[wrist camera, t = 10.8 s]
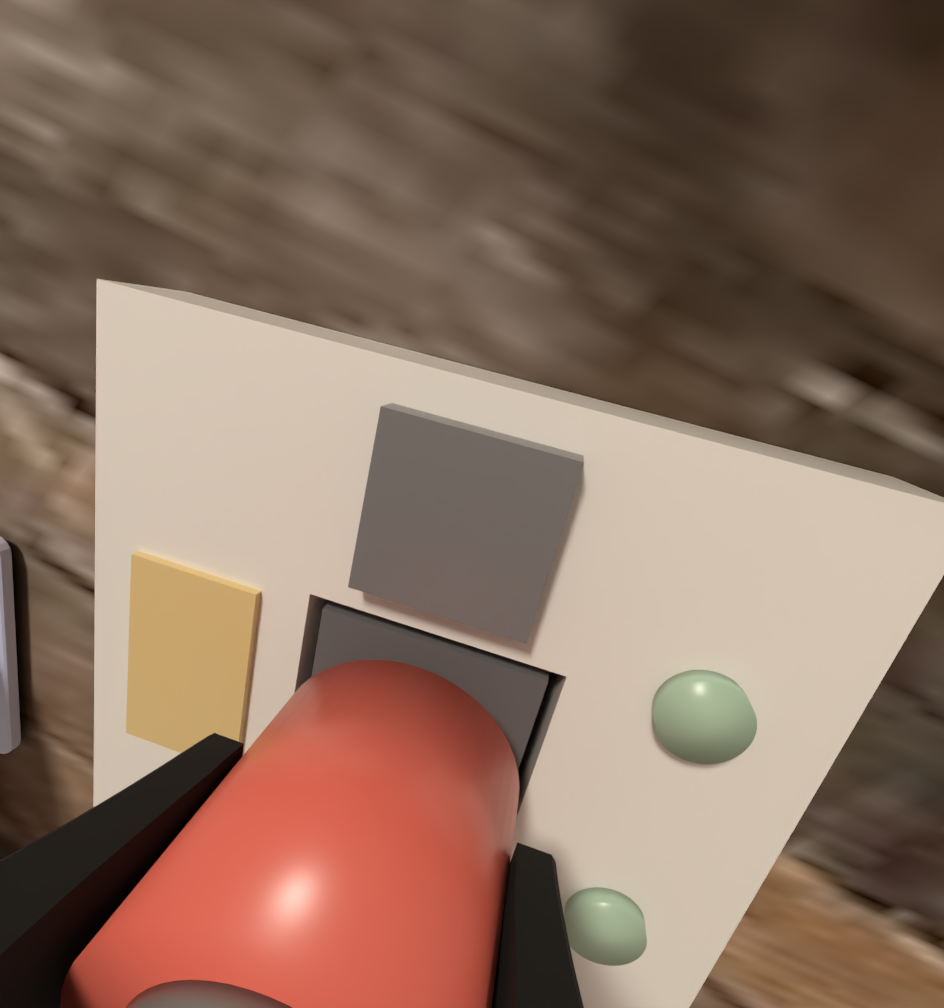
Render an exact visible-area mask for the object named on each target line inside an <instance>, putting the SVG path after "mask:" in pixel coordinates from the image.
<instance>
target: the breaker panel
mask: <svg viewBox="0 0 944 1008" xmlns="http://www.w3.org/2000/svg"><path fill="white" fill-rule="evenodd" d="M943 575H944V497H941V496H939V495H936V494H934V493H931V492H929V491H926V490H924V489H921V488H919V487H916V486H914V485H912V484H909V483H907V482H904V481H902V480H899V479H897V478H894V477H892V476H888V475H884V474H880V473H877V472H873V471H869V470H865V469H861V468H858V467H854V466H850V465H846V464H842V463H838V462H835V461H831V460H827V459H823V458H819V457H816V456H812V455H808V454H804V453H800V452H796V451H793V450H789V449H785V448H781V447H777V446H774V445H770V444H766V443H762V442H758V441H754V440H751V439H747V438H743V437H739V436H735V435H732V434H728V433H724V432H720V431H716V430H712V429H709V428H705V427H701V426H697V425H693V424H690V423H686V422H682V421H678V420H674V419H670V418H667V417H663V416H659V415H655V414H651V413H648V412H644V411H640V410H636V409H632V408H628V407H625V406H621V405H617V404H613V403H609V402H606V401H602V400H598V399H594V398H590V397H586V396H583V395H579V394H575V393H571V392H567V391H564V390H560V389H556V388H552V387H548V386H544V385H541V384H537V383H533V382H529V381H525V380H522V379H518V378H514V377H510V376H506V375H503V374H499V373H495V372H491V371H487V370H483V369H480V368H476V367H472V366H468V365H464V364H461V363H457V362H453V361H449V360H445V359H441V358H438V357H434V356H430V355H426V354H422V353H419V352H415V351H411V350H407V349H403V348H399V347H396V346H392V345H388V344H384V343H380V342H377V341H373V340H369V339H365V338H361V337H357V336H354V335H350V334H346V333H342V332H338V331H335V330H331V329H327V328H323V327H319V326H315V325H312V324H308V323H304V322H300V321H296V320H293V319H289V318H285V317H281V316H277V315H273V314H270V313H266V312H262V311H258V310H254V309H251V308H247V307H243V306H239V305H235V304H231V303H228V302H224V301H220V300H216V299H212V298H209V297H205V296H201V295H197V294H193V293H189V292H184V291H177V290H170V289H163V288H157V287H150V286H143V285H136V284H129V283H122V282H115V281H108V280H101V279H97V319H96V486H95V652H94V807H95V806H97V805H98V804H100V803H102V802H103V801H105V800H107V799H108V798H110V797H112V796H113V795H115V794H117V793H118V792H120V791H122V790H123V789H125V788H127V787H128V786H130V785H131V784H133V783H135V782H136V781H138V780H139V779H141V778H143V777H144V776H146V775H147V774H149V773H151V772H152V771H154V770H155V769H157V768H159V767H160V766H162V765H163V764H165V763H166V762H168V761H170V760H171V759H173V758H174V757H176V756H177V755H179V754H180V753H182V752H184V751H185V750H187V749H188V748H190V747H191V746H193V745H195V744H196V743H198V742H199V741H201V740H202V739H204V738H206V737H207V736H209V735H211V734H213V733H216V734H219V735H222V736H225V737H227V738H230V739H233V740H236V741H238V742H241V743H244V747H243V755H244V754H245V753H246V751H247V750H248V749H249V748H250V747H251V745H252V744H253V743H254V742H255V740H256V739H257V738H258V737H259V736H260V734H261V733H262V732H263V731H264V730H265V728H266V727H267V726H268V725H269V723H270V722H271V721H272V720H273V719H274V717H275V716H276V715H277V714H278V712H279V711H280V710H281V709H282V708H283V706H284V705H285V704H286V703H287V702H288V700H289V699H290V698H291V697H292V695H293V694H294V693H295V692H296V691H297V690H298V689H299V687H300V686H301V685H302V684H304V683H305V682H306V681H307V680H309V679H310V678H311V676H312V670H313V664H314V658H315V652H316V646H317V640H318V634H319V628H320V622H321V616H322V610H323V608H324V607H325V606H326V605H327V604H328V603H329V601H333V602H336V603H340V604H343V605H346V606H349V607H352V608H355V609H358V610H361V611H364V612H367V613H371V614H374V615H377V616H380V617H383V618H386V619H389V620H392V621H395V622H398V623H402V624H405V625H408V626H411V627H414V628H417V629H420V630H423V631H426V632H429V633H433V634H436V635H439V636H442V637H445V638H448V639H451V640H454V641H457V642H460V643H464V644H467V645H470V646H473V647H476V648H479V649H482V650H485V651H488V652H491V653H495V654H498V655H501V656H504V657H507V658H510V659H513V660H516V661H519V662H522V663H526V664H529V665H532V666H535V667H538V668H541V669H544V670H547V671H550V673H549V679H548V684H547V687H546V690H545V693H544V696H543V698H542V701H541V704H540V707H539V710H538V713H537V716H536V719H535V722H534V725H533V728H532V731H531V734H530V736H529V739H528V742H527V745H526V748H525V751H524V754H523V757H522V760H521V763H520V766H519V769H518V774H519V786H520V787H519V800H518V808H517V816H516V824H515V831H514V839H513V847H512V854H511V859H512V856H513V853H514V850H515V848H516V845H517V842H518V843H521V844H523V845H526V846H529V847H532V848H534V849H537V850H540V851H543V852H546V853H548V854H551V855H552V856H553V858H554V860H555V862H556V869H557V877H558V884H559V890H560V897H561V903H562V908H563V914H564V919H565V925H566V930H567V935H568V940H569V945H570V950H571V954H572V959H573V964H574V968H575V973H576V977H577V981H578V985H579V989H580V994H581V998H582V1002H583V1006H584V1008H689V1007H690V1005H691V1004H692V1002H693V1000H694V999H695V997H696V995H697V994H698V992H699V990H700V988H701V987H702V985H703V983H704V982H705V980H706V978H707V976H708V975H709V973H710V971H711V970H712V968H713V966H714V965H715V963H716V961H717V959H718V958H719V956H720V954H721V953H722V951H723V949H724V948H725V946H726V944H727V942H728V941H729V939H730V937H731V936H732V934H733V932H734V931H735V929H736V927H737V925H738V924H739V922H740V920H741V919H742V917H743V915H744V914H745V912H746V910H747V908H748V907H749V905H750V903H751V902H752V900H753V898H754V897H755V895H756V893H757V891H758V890H759V888H760V886H761V885H762V883H763V881H764V880H765V878H766V876H767V874H768V873H769V871H770V869H771V868H772V866H773V864H774V863H775V861H776V859H777V857H778V856H779V854H780V852H781V851H782V849H783V847H784V846H785V844H786V842H787V840H788V839H789V837H790V835H791V834H792V832H793V830H794V829H795V827H796V825H797V823H798V822H799V820H800V818H801V817H802V815H803V813H804V812H805V810H806V808H807V806H808V805H809V803H810V801H811V800H812V798H813V796H814V795H815V793H816V791H817V789H818V788H819V786H820V784H821V783H822V781H823V779H824V778H825V776H826V774H827V772H828V771H829V769H830V767H831V766H832V764H833V762H834V761H835V759H836V757H837V755H838V754H839V752H840V750H841V749H842V747H843V745H844V743H845V742H846V740H847V738H848V737H849V735H850V733H851V732H852V730H853V728H854V726H855V725H856V723H857V721H858V720H859V718H860V716H861V715H862V713H863V711H864V709H865V708H866V706H867V704H868V703H869V701H870V699H871V698H872V696H873V694H874V692H875V691H876V689H877V687H878V686H879V684H880V682H881V681H882V679H883V677H884V675H885V674H886V672H887V670H888V669H889V667H890V665H891V664H892V662H893V660H894V658H895V657H896V655H897V653H898V652H899V650H900V648H901V647H902V645H903V643H904V641H905V640H906V638H907V636H908V635H909V633H910V631H911V630H912V628H913V626H914V624H915V623H916V621H917V619H918V618H919V616H920V614H921V613H922V611H923V609H924V607H925V606H926V604H927V602H928V601H929V599H930V597H931V596H932V594H933V592H934V590H935V589H936V587H937V585H938V584H939V582H940V580H941V579H942V577H943ZM243 755H242V756H243Z"/></svg>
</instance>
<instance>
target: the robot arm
mask: <svg viewBox="0 0 944 1008" xmlns="http://www.w3.org/2000/svg"><path fill="white" fill-rule="evenodd" d="M20 741H21V729H20V709H19V689H18V670H17V650H16V630H15V610H14V590H13V570H12V553H11V548H10V546H9V544H8V543H7V542H6V541H5V540H4V539H3V538H2V537H0V753H1V754H6V753H9V752H11V751H12V750H13V749H15V748H16V747H18V746H19V745H20ZM243 747H244V743H241V742H238V741H236V740H233V739H230V738H227V737H225V736H222V735H219V734H216V733H213V734H211V735H209V736H207V737H206V738H204V739H202V740H201V741H199V742H198V743H196V744H195V745H193V746H191V747H190V748H188V749H187V750H185V751H184V752H182V753H180V754H179V755H177V756H176V757H174V758H173V759H171V760H170V761H168V762H166V763H165V764H163V765H162V766H160V767H159V768H157V769H155V770H154V771H152V772H151V773H149V774H147V775H146V776H144V777H143V778H141V779H139V780H138V781H136V782H135V783H133V784H131V785H130V786H128V787H127V788H125V789H123V790H122V791H120V792H118V793H117V794H115V795H113V796H112V797H110V798H108V799H107V800H105V801H103V802H102V803H100V804H98V805H97V806H95V807H93V808H92V809H90V810H88V811H87V812H85V813H83V814H82V815H80V816H78V817H77V818H75V819H73V820H71V821H70V822H68V823H66V824H64V825H63V826H61V827H59V828H57V829H56V830H54V831H52V832H50V833H48V834H47V835H45V836H43V837H41V838H39V839H38V840H36V841H34V842H32V843H30V844H29V845H27V846H25V847H23V848H21V849H20V850H18V851H16V852H14V853H12V854H11V855H9V856H7V857H5V858H3V859H1V860H0V1008H60V1003H61V991H62V987H63V984H64V980H65V977H66V975H67V973H68V971H69V969H70V967H71V966H72V964H73V962H74V961H75V960H76V958H77V957H78V956H79V955H80V954H81V952H82V951H83V950H84V949H85V947H86V946H87V945H88V944H89V943H90V941H91V940H92V939H93V938H94V936H95V935H96V934H97V933H98V932H99V930H100V929H101V928H102V927H103V926H104V924H105V923H106V922H107V921H108V919H109V918H110V917H111V916H112V915H113V913H114V912H115V911H116V910H117V908H118V907H119V906H120V905H121V904H122V902H123V901H124V900H125V899H126V898H127V896H128V895H129V894H130V893H131V891H132V890H133V889H134V888H135V887H136V885H137V884H138V883H139V882H140V880H141V879H142V878H143V877H144V876H145V874H146V873H147V872H148V871H149V870H150V868H151V867H152V866H153V865H154V863H155V862H156V861H157V860H158V859H159V857H160V856H161V855H162V854H163V852H164V851H165V850H166V849H167V848H168V846H169V845H170V844H171V843H172V842H173V840H174V839H175V838H176V837H177V835H178V834H179V833H180V832H181V831H182V829H183V828H184V827H185V826H186V824H187V823H188V822H189V821H190V820H191V818H192V817H193V816H194V815H195V814H196V812H197V811H198V810H199V809H200V807H201V806H202V805H203V804H204V803H205V801H206V800H207V799H208V798H209V796H210V795H211V794H212V793H213V792H214V790H215V789H216V788H217V787H218V786H219V784H220V783H221V782H222V781H223V779H224V778H225V777H226V776H227V775H228V773H229V772H230V771H231V770H232V768H233V767H234V766H235V765H236V764H237V762H238V761H239V760H240V759H241V758H242V755H243ZM492 1008H584V1006H583V1002H582V998H581V994H580V989H579V985H578V981H577V977H576V973H575V968H574V964H573V959H572V954H571V950H570V945H569V940H568V935H567V930H566V925H565V919H564V914H563V908H562V903H561V897H560V890H559V884H558V877H557V869H556V862H555V860H554V858H553V856H552V855H551V854H548V853H546V852H543V851H540V850H537V849H534V848H532V847H529V846H526V845H523V844H521V843H518V842H517V845H516V848H515V850H514V853H513V856H512V859H511V861H510V867H509V875H508V882H507V890H506V898H505V905H504V913H503V921H502V929H501V938H500V946H499V954H498V962H497V970H496V977H495V985H494V993H493V1000H492Z"/></svg>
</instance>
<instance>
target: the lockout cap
mask: <svg viewBox="0 0 944 1008" xmlns="http://www.w3.org/2000/svg"><path fill="white" fill-rule="evenodd" d="M519 787H520V786H519V774H518V769H517V765H516V761H515V757H514V755H513V752H512V750H511V747H510V744H509V742H508V741H507V739H506V737H505V735H504V734H503V732H502V730H501V728H500V727H499V726H498V724H497V723H496V722H495V720H494V719H493V718H492V716H491V715H490V714H489V713H488V712H487V711H486V710H485V709H484V708H483V707H482V706H481V705H480V703H478V702H477V701H476V700H475V699H474V698H473V697H471V696H470V695H469V694H468V693H467V692H465V691H464V690H462V689H461V688H459V687H458V686H456V685H455V684H453V683H452V682H450V681H448V680H446V679H444V678H443V677H441V676H439V675H437V674H435V673H432V672H430V671H427V670H425V669H422V668H419V667H416V666H412V665H409V664H405V663H401V662H394V661H387V660H360V661H351V662H347V663H343V664H338V665H335V666H333V667H330V668H328V669H325V670H323V671H321V672H319V673H318V674H316V675H314V676H313V677H311V678H310V679H309V680H307V681H306V682H305V683H304V684H302V685H301V686H300V687H299V689H298V690H297V691H296V692H295V693H294V694H293V695H292V697H291V698H290V699H289V700H288V702H287V703H286V704H285V705H284V706H283V708H282V709H281V710H280V711H279V712H278V714H277V715H276V716H275V717H274V719H273V720H272V721H271V722H270V723H269V725H268V726H267V727H266V728H265V730H264V731H263V732H262V733H261V734H260V736H259V737H258V738H257V739H256V740H255V742H254V743H253V744H252V745H251V747H250V748H249V749H248V750H247V751H246V753H245V754H244V755H243V756H242V758H241V759H240V760H239V761H238V762H237V764H236V765H235V766H234V767H233V768H232V770H231V771H230V772H229V773H228V775H227V776H226V777H225V778H224V779H223V781H222V782H221V783H220V784H219V786H218V787H217V788H216V789H215V790H214V792H213V793H212V794H211V795H210V796H209V798H208V799H207V800H206V801H205V803H204V804H203V805H202V806H201V807H200V809H199V810H198V811H197V812H196V814H195V815H194V816H193V817H192V818H191V820H190V821H189V822H188V823H187V824H186V826H185V827H184V828H183V829H182V831H181V832H180V833H179V834H178V835H177V837H176V838H175V839H174V840H173V842H172V843H171V844H170V845H169V846H168V848H167V849H166V850H165V851H164V852H163V854H162V855H161V856H160V857H159V859H158V860H157V861H156V862H155V863H154V865H153V866H152V867H151V868H150V870H149V871H148V872H147V873H146V874H145V876H144V877H143V878H142V879H141V880H140V882H139V883H138V884H137V885H136V887H135V888H134V889H133V890H132V891H131V893H130V894H129V895H128V896H127V898H126V899H125V900H124V901H123V902H122V904H121V905H120V906H119V907H118V908H117V910H116V911H115V912H114V913H113V915H112V916H111V917H110V918H109V919H108V921H107V922H106V923H105V924H104V926H103V927H102V928H101V929H100V930H99V932H98V933H97V934H96V935H95V936H94V938H93V939H92V940H91V941H90V943H89V944H88V945H87V946H86V947H85V949H84V950H83V951H82V952H81V954H80V955H79V956H78V957H77V958H76V960H75V961H74V962H73V964H72V966H71V967H70V969H69V971H68V973H67V975H66V977H65V980H64V984H63V987H62V991H61V1003H60V1008H492V1000H493V993H494V985H495V977H496V970H497V962H498V954H499V946H500V938H501V929H502V921H503V913H504V905H505V898H506V890H507V882H508V875H509V867H510V861H511V854H512V847H513V839H514V831H515V824H516V816H517V808H518V800H519Z"/></svg>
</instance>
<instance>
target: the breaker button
mask: <svg viewBox="0 0 944 1008" xmlns="http://www.w3.org/2000/svg"><path fill="white" fill-rule="evenodd" d="M360 660H387V661H394V662H401V663H405V664H409V665H412V666H416V667H419V668H422V669H425V670H427V671H430V672H432V673H435V674H437V675H439V676H441V677H443V678H444V679H446V680H448V681H450V682H452V683H453V684H455V685H456V686H458V687H459V688H461V689H462V690H464V691H465V692H467V693H468V694H469V695H470V696H471V697H473V698H474V699H475V700H476V701H477V702H478V703H480V705H481V706H482V707H483V708H484V709H485V710H486V711H487V712H488V713H489V714H490V715H491V716H492V718H493V719H494V720H495V722H496V723H497V724H498V726H499V727H500V728H501V730H502V732H503V734H504V735H505V737H506V739H507V741H508V742H509V744H510V747H511V750H512V752H513V755H514V757H515V761H516V765H517V769H519V766H520V763H521V760H522V757H523V754H524V751H525V748H526V745H527V742H528V739H529V736H530V734H531V731H532V728H533V725H534V722H535V719H536V716H537V713H538V710H539V707H540V704H541V701H542V698H543V696H544V693H545V690H546V687H547V684H548V679H549V671H547V670H544V669H541V668H538V667H535V666H532V665H529V664H526V663H522V662H519V661H516V660H513V659H510V658H507V657H504V656H501V655H498V654H495V653H491V652H488V651H485V650H482V649H479V648H476V647H473V646H470V645H467V644H464V643H460V642H457V641H454V640H451V639H448V638H445V637H442V636H439V635H436V634H433V633H429V632H426V631H423V630H420V629H417V628H414V627H411V626H408V625H405V624H402V623H398V622H395V621H392V620H389V619H386V618H383V617H380V616H377V615H374V614H371V613H367V612H364V611H361V610H358V609H355V608H352V607H349V606H346V605H343V604H340V603H336V602H333V601H329V603H328V604H327V605H326V606H325V607H324V608H323V610H322V616H321V622H320V628H319V634H318V640H317V646H316V652H315V658H314V664H313V670H312V676H311V677H313V676H314V675H316V674H318V673H319V672H321V671H323V670H325V669H328V668H330V667H333V666H335V665H338V664H343V663H347V662H351V661H360Z"/></svg>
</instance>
